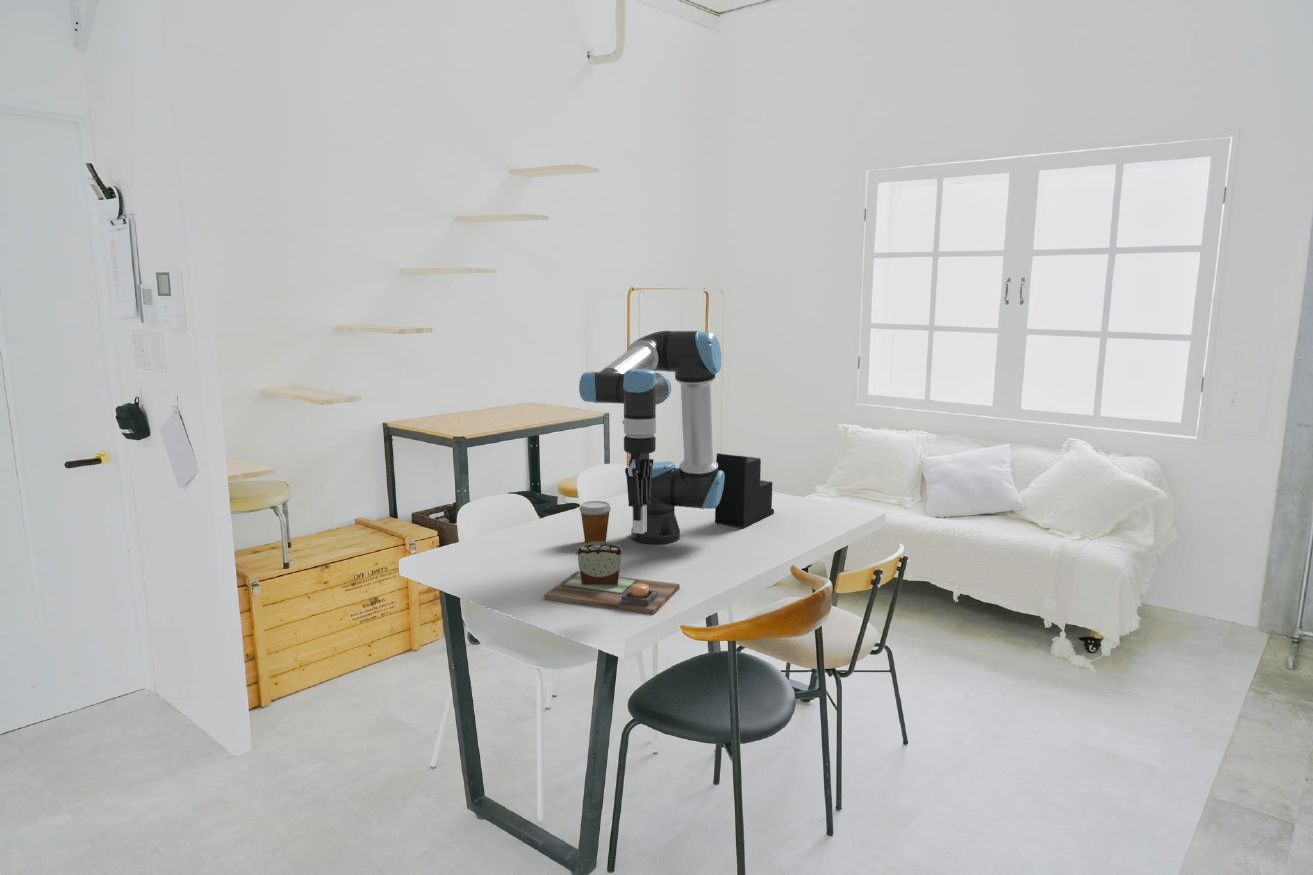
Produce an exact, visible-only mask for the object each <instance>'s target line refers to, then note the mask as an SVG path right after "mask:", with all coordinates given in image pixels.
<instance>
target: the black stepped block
mask: <svg viewBox="0 0 1313 875" xmlns="http://www.w3.org/2000/svg"><path fill="white" fill-rule="evenodd" d="M761 460H762V459H761V457H755V456H754V457H752V456H745V455H735V454H727V453H726V454H725V453H716V460H715V461H716V462H717V463H718V471H719V470H721V471H723V472H724V475H725V479H724V487H723V492H722V496H721V500H720V502H719V504H718V506H717V507H716V508H714V523H715V524H719V525H725V526H731V527H736V528H745V527H746V528H747V527H748V526H751V525H753V524H754V523H757V522H758V521H760V520H763V519H764V518H767V517H769V516H771V515H773V514H775V509H774V508H773V507H772V506H773V505H772V504H773V481H767V480H762V479H761V469H762V467H761V464H762V461H761Z"/></svg>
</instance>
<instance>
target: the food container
mask: <svg viewBox="0 0 1313 875" xmlns="http://www.w3.org/2000/svg"><path fill="white" fill-rule="evenodd" d="M574 554H575V556H577V559H578V560H577V561H578V569H579V572H580V578H581V586H618V582H619V577H620V571H621V563H622V561H621V560H622V556H623V557H624V555H625V554H624V550H623V548H622V545H620V544H618V543H616V542H611V541H606V542H589V543H585V542H584V543H582V544H579V545H578V546H577V548H576V551H575V553H574Z"/></svg>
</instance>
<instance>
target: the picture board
mask: <svg viewBox="0 0 1313 875" xmlns="http://www.w3.org/2000/svg"><path fill="white" fill-rule="evenodd" d="M637 583H642V584H647V585H648V586H649V595H648V596H646V597H633V596H631V585H633V584H637ZM680 586H681V585H680V583H673V582H666V581H665V582H664V581H656V580H651V579H641V578H634V577H625V576H619V582H618V586H581V578H580V571H578V570H577V571H575V572H574V573H573V574H571V575H570V576H568V577H567V578H565V579H564V580H562V581H561V582H560V583H559V584H557V585H555V586H554V587H553V588H552V589H550V590H549V591H548V592H546V593H544V600H548V601H554V602H556V601H557V602H563V603H570V604H577V605H578V604H579V605H585V606H593V607H600V608H607V609H615V610H621V611H630V612H636V613H644V614H651V615H655V614H656V613H657V612H658V611H660V609H662V607H664V605H665V604H666V603H667V602H669V600H670V599H671V598H672V597H673V596H674V595H675V594H676V593H677V592H678V591H679V590H680Z"/></svg>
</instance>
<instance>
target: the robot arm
mask: <svg viewBox="0 0 1313 875" xmlns="http://www.w3.org/2000/svg"><path fill="white" fill-rule="evenodd" d="M721 369H722V350H721V345H720V342H719V339H718V338H717V336H716V335H715V334H714V333H713V332H709V331H701V330H659V331H656V332H653V333H649V334H647V335H644V336H642V337H640V338H638V339H636V340H634V341H633V342H632V343H631V344H630V345H628V347H627V349H626V352H625V353H623V354H622V355H620V356H619V357H618V358H616V359H615V360H614V361H613V362H611V363H610V364H608V365H607V366H605V367H604V368H603V369H602V370H600V371H586V372H584V373H582V374H581V377H580V378H579V381H578V382H579V384H578V390H579V391H578V392H579V395H580V398H581V399H582V400H583V401H584V402H586V403H587V402H589V403H594V404H597V403H599V404H623V420H622V422H621V423H622V425H623V433H624V434H625V435H624V437H623V451H624V452H625V453H628V454H629V455H630V456H629V462H628V466H629V467H625V469H624V473H625V476H626V485H627V499H628V500H627V501H628V507H632V527H631V531H630V534H631V535H630V538H631V539H632V540H633V541H636V542H638V543H641V544H651V545H652V544H653V545H654V544H655V545H658V544H659V545H661V544H671V543H675V542H677V541H678V540H680V539H681V529H680V526H679V523H678V520H677V517H676V511H675V510H676V509H675V507H680V508H681V507H682V508H691V509H692V508H693V509H702V510H704V509H706V510H708V509H709V510H710V509H712V510H713V509H714V510H715V508H716V507H717V506H718V504H719V502H720V500H721V496H722V492H723V487H724V479H725V475H724V472H723V471H721V470H719V471H718V463H717V462H716V460H714V459H713V458H714V456H713V430H712V428H713V426H712V425H713V424H712V392H711V391H712V390H711V383H712V382H713V381H714V380H715V379H716V374H718V373H720V371H721ZM660 372H670V373H674V379H675V381H676V382H677V383H678V384H680V399H681V400H680V402H681V416H682V417H681V419H682V420H681V421H682V441H683V442H682V443H683V444H682V445H683V460H682V461H681V463H679V465H678V466H679V467H676V464H675V462H673V461H657V462H655V461H654V459H652V458H650V454H652V453H654V452H655V451H656V441H657V440H656V439H657V438H656V436H655V434H656V433H657V418H656V416H657V415H656V412H657V410H656V408H657V407H656V406H657V405H659V404H662V403H664V402H665V401H666V400H667V399H668V398H669V397H670V394H671V393H672V384H671V381H670V379H669V378H668V377H667V376H666V375H665V374H663V373H660Z"/></svg>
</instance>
